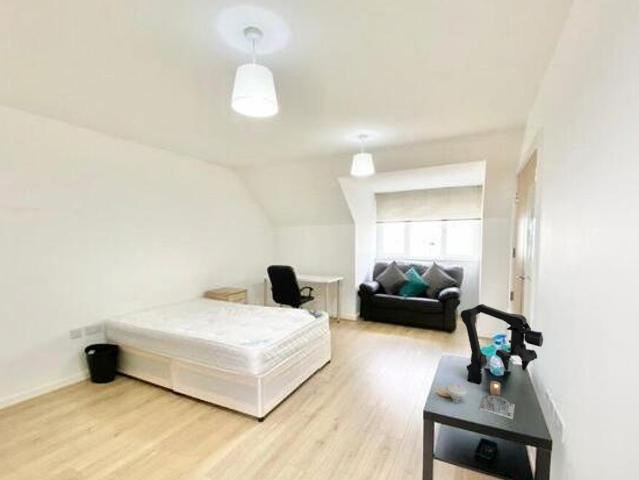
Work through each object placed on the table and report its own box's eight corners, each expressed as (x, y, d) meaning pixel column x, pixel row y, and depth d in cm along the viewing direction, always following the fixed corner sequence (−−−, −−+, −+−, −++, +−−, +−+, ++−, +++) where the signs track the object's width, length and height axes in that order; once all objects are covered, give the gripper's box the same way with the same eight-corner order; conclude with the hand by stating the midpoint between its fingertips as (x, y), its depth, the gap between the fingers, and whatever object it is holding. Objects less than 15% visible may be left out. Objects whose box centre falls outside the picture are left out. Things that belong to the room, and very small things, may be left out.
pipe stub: (489, 395, 162) (489, 383, 162) (490, 391, 166) (490, 380, 166) (499, 397, 160) (499, 386, 159) (500, 394, 163) (500, 382, 163)
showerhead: (441, 382, 159) (459, 381, 161) (440, 396, 159) (458, 395, 161) (451, 392, 150) (471, 390, 152) (451, 407, 150) (470, 405, 152)
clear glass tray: (480, 409, 149) (480, 402, 149) (484, 397, 160) (484, 390, 159) (512, 419, 142) (512, 411, 141) (514, 406, 152) (514, 399, 152)
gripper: (511, 346, 152) (509, 378, 153) (547, 346, 154) (544, 378, 155) (495, 338, 163) (493, 368, 164) (529, 338, 165) (527, 367, 166)
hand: (515, 370), depth 162 cm, fingers open, 9 cm apart
